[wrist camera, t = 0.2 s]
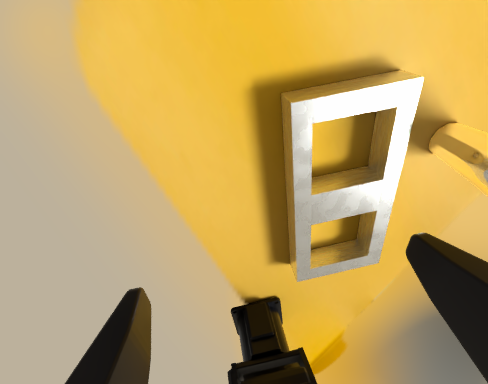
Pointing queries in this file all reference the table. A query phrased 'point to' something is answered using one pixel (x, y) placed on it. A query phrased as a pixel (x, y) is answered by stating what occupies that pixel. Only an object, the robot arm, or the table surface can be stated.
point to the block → (350, 181)
